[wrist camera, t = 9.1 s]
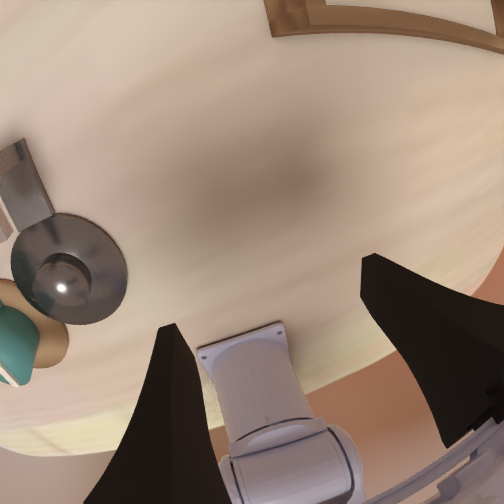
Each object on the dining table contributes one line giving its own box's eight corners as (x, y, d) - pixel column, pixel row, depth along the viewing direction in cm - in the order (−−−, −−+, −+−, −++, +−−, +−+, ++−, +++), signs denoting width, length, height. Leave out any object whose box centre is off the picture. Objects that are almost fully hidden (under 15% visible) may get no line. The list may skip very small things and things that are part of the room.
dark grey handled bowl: (147, 301, 21) (148, 359, 17) (54, 330, 20) (42, 383, 16) (64, 115, 13) (24, 133, 9) (-36, 179, 12) (-81, 215, 8)
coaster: (89, 352, 22) (88, 357, 22) (17, 369, 21) (16, 374, 21) (23, 263, 17) (20, 267, 16) (-45, 297, 16) (-48, 301, 15)
